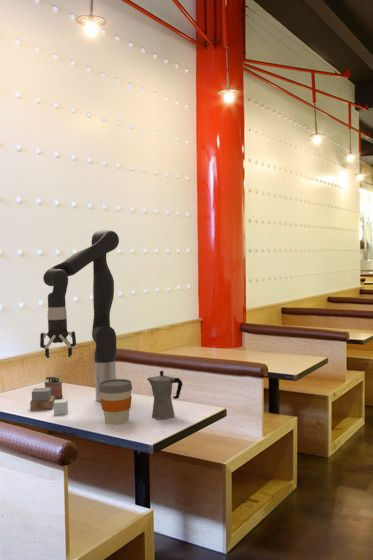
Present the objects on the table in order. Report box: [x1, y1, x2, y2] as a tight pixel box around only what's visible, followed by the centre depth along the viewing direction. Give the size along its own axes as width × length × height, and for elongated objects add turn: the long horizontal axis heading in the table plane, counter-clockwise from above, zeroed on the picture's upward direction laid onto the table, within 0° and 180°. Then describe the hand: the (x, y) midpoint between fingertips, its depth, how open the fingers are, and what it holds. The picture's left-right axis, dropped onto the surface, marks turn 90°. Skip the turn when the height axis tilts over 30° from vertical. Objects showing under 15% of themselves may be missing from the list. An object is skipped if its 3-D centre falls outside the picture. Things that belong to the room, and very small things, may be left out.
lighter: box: [44, 375, 64, 400], centre depth 255 cm, size 8×3×10 cm, turn 84°
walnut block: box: [29, 396, 56, 412], centre depth 240 cm, size 9×9×4 cm
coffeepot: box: [146, 370, 183, 420], centre depth 220 cm, size 15×9×18 cm, turn 66°
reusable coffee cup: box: [99, 378, 133, 425], centre depth 216 cm, size 13×13×15 cm
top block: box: [53, 398, 69, 416], centre depth 230 cm, size 5×5×5 cm
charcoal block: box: [31, 387, 51, 401], centre depth 240 cm, size 7×7×4 cm
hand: (58, 357), depth 230 cm, fingers open, 8 cm apart
